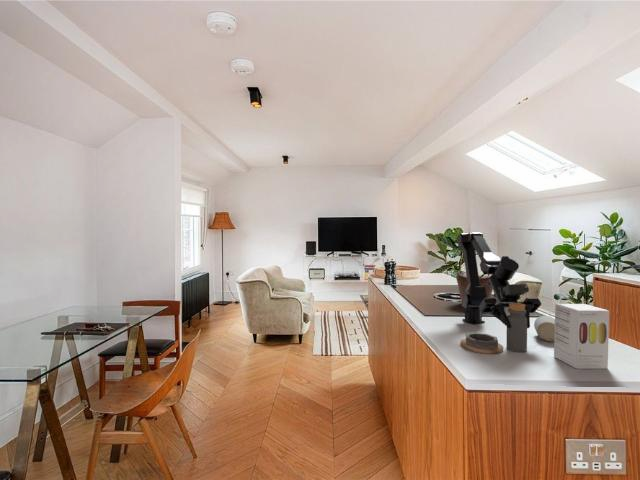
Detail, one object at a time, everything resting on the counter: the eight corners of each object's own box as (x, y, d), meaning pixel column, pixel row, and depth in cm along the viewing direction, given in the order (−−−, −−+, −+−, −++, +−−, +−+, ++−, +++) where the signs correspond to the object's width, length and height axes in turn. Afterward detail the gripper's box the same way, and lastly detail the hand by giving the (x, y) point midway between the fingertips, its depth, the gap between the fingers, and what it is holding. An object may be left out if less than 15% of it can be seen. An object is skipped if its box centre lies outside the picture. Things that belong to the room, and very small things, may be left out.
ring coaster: (479, 338, 120) (480, 329, 120) (512, 350, 108) (512, 340, 108) (452, 343, 115) (452, 334, 115) (483, 356, 103) (483, 346, 103)
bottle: (502, 346, 112) (503, 302, 112) (518, 345, 113) (519, 302, 112) (514, 352, 106) (514, 306, 106) (531, 352, 107) (531, 306, 106)
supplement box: (575, 369, 93) (576, 310, 93) (552, 356, 103) (553, 303, 102) (609, 369, 93) (610, 310, 93) (583, 356, 103) (584, 302, 102)
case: (504, 309, 164) (504, 273, 164) (464, 309, 164) (463, 273, 164) (486, 301, 182) (486, 269, 181) (450, 302, 182) (450, 269, 182)
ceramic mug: (536, 340, 117) (537, 319, 117) (533, 334, 125) (534, 314, 124) (573, 345, 113) (574, 323, 112) (568, 338, 120) (568, 317, 120)
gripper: (483, 274, 113) (499, 314, 102) (538, 274, 112) (560, 314, 102) (472, 293, 121) (487, 332, 110) (524, 292, 120) (543, 332, 110)
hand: (519, 327), depth 108 cm, fingers closed on bottle, 6 cm apart
